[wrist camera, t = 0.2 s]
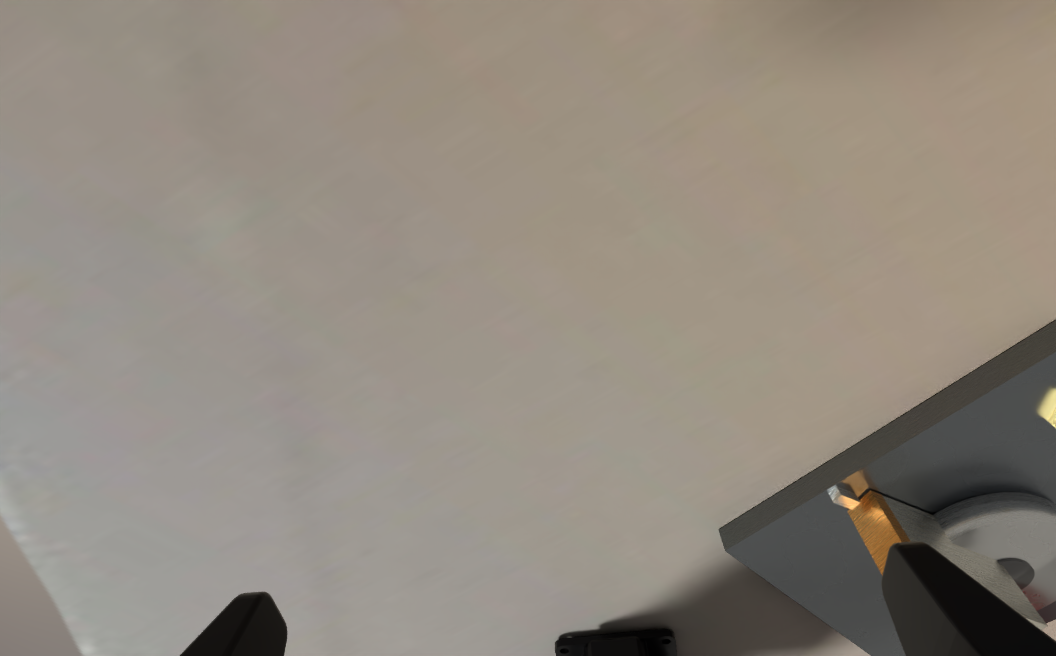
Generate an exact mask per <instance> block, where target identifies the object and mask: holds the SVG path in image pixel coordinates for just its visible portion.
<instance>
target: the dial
mask: <svg viewBox="0 0 1056 656" xmlns="http://www.w3.org/2000/svg"><path fill="white" fill-rule="evenodd" d="M859 501H860V503H859V504H858V505H857V506H856V507H855V508H854V509H853V510H851V509H849V510H848V511H847V512H848V514H849V515H850V517H851V519H852V521H853V523H854V525H855V526H856V528H857V530H858V532H859V534H860V536H861V537H862V539H863V541H864V543H865V545H866V547H867V549H868V550H869V552H870V554H871V556H872V558H873V560H874V561H875V563H876V565H877V567H878V569H879V571H880V572H881V574H882V575H883V571H884V567H885V563H886V559H887V555H888V551H889V548H890V546H892V545H893V544H894V543H900V542H913V541H921V542H924V543H926V544H928V545H930V546H931V547H933V548H934V549H935V550H937V551H938V552H939V553H941V554H942V555H943V556H945V557H946V558H947V559H949V560H950V561H951V562H952V563H954V564H955V565H956V566H958V567H959V568H960V569H962V570H963V571H964V572H966V573H967V574H968V575H970V576H971V577H972V578H973V579H975V580H976V581H977V582H979V583H980V584H981V585H983V586H984V587H985V588H987V589H988V590H989V591H991V592H992V593H993V594H994V595H996V596H997V597H998V598H1000V599H1001V600H1002V601H1004V602H1005V603H1006V604H1008V605H1009V606H1010V607H1012V608H1013V609H1014V610H1015V611H1017V612H1018V613H1019V614H1021V615H1022V616H1023V617H1025V618H1026V619H1027V620H1029V621H1030V622H1031V623H1033V624H1034V625H1035V626H1036V627H1038V628H1039V629H1040V630H1042V629H1044V628H1045V627H1047V626H1048V625H1047V624H1046V623H1045V621H1044V620H1043V619H1042V617H1041V616H1040V615H1039V613H1038V612H1037V610H1039V609H1042V608H1044V607H1046V606H1047V605H1049V604H1051V603H1053V602H1055V601H1056V505H1055V504H1053V503H1052V502H1051V501H1049V500H1047V499H1045V498H1043V497H1040V496H1037V495H1033V494H1028V493H1018V492H1002V493H992V494H987V495H981V496H977V497H973V498H969V499H966V500H963V501H961V502H958V503H955V504H953V505H951V506H948V507H946V508H944V509H942V510H940V511H939V512H937V513H935V514H934V515H931V514H929V513H926V512H924V511H921V510H919V509H916V508H913V507H911V506H908V505H906V504H903V503H900V502H898V501H895V500H893V499H890V498H888V497H885V496H882V495H881V494H879V493H876V492H874V491H871V490H870V491H869V492H868V493H867V494H866V495H864V496H863V497H862V498H861V499H860V500H859Z"/></svg>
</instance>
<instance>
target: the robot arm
mask: <svg viewBox="0 0 1056 656" xmlns="http://www.w3.org/2000/svg"><path fill="white" fill-rule="evenodd" d="M881 586H882V592H883V596H884V599H885V602H886V605H887V607H888V610H889V613H890V615H891V618H892V621H893V623H894V626H895V629H896V631H897V634H898V637H899V639H900V642H901V645H902V647H903V650H904V653H905V655H906V656H1056V641H1055V640H1054V639H1052V638H1051V637H1050V636H1048V635H1047V634H1046V633H1044V632H1043V631H1042V630H1040V629H1039V628H1038V627H1036V626H1035V625H1034V624H1033V623H1031V622H1030V621H1029V620H1027V619H1026V618H1025V617H1023V616H1022V615H1021V614H1019V613H1018V612H1017V611H1015V610H1014V609H1013V608H1012V607H1010V606H1009V605H1008V604H1006V603H1005V602H1004V601H1002V600H1001V599H1000V598H998V597H997V596H996V595H994V594H993V593H992V592H991V591H989V590H988V589H987V588H985V587H984V586H983V585H981V584H980V583H979V582H977V581H976V580H975V579H973V578H972V577H971V576H970V575H968V574H967V573H966V572H964V571H963V570H962V569H960V568H959V567H958V566H956V565H955V564H954V563H952V562H951V561H950V560H949V559H947V558H946V557H945V556H943V555H942V554H941V553H939V552H938V551H937V550H935V549H934V548H933V547H931V546H930V545H928V544H926V543H924V542H921V541H913V542H900V543H894V544H893V545H892V546H890V548H889V551H888V555H887V559H886V563H885V567H884V571H883V575H882V580H881ZM286 642H287V626H286V623H285V620H284V619H283V617H282V615H281V613H280V611H279V610H278V608H277V606H276V604H275V602H274V601H273V599H272V597H271V596H270V594H268V593H266V592H252V593H243V594H240V595H239V596H237V597H236V598H234V599H233V600H232V601H231V602H230V604H229V605H228V606H227V607H226V608H225V609H224V610H223V611H222V612H221V613H220V614H219V615H218V616H217V617H216V618H215V619H214V620H213V621H212V622H211V623H210V624H209V625H208V626H207V628H206V629H205V630H204V631H203V632H202V633H201V634H200V635H199V636H198V637H197V638H196V639H195V640H194V641H193V642H192V643H191V644H190V645H189V646H188V647H187V648H186V649H185V651H184V652H183V653H182V654H181V655H180V656H284V652H285V647H286ZM555 653H556V656H677V650H676V640H675V635H674V632H673V631H672V630H669V629H661V630H650V631H639V632H629V633H618V634H608V635H597V636H586V637H576V638H565V639H559V640H557V641H556V642H555Z"/></svg>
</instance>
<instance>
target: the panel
mask: <svg viewBox="0 0 1056 656" xmlns="http://www.w3.org/2000/svg"><path fill="white" fill-rule="evenodd" d="M870 490H871V491H874V492H876V493H879V494H881V495H882V496H885V497H888V498H890V499H893V500H895V501H898V502H900V503H903V504H906V505H908V506H911V507H913V508H916V509H919V510H921V511H924V512H926V513H929V514H931V515H934V514H935V513H937V512H939V511H940V510H942V509H944V508H946V507H948V506H951V505H953V504H955V503H958V502H961V501H963V500H966V499H969V498H973V497H977V496H981V495H987V494H992V493H1002V492H1018V493H1028V494H1033V495H1037V496H1040V497H1043V498H1045V499H1047V500H1049V501H1051V502H1052V503H1053V504H1055V505H1056V320H1055V321H1054V322H1052V323H1050V324H1049V325H1047V326H1046V327H1044V328H1042V329H1041V330H1039V331H1038V332H1036V333H1034V334H1033V335H1031V336H1029V337H1028V338H1026V339H1025V340H1023V341H1021V342H1020V343H1018V344H1017V345H1015V346H1013V347H1012V348H1010V349H1009V350H1007V351H1005V352H1004V353H1002V354H1001V355H999V356H997V357H996V358H994V359H992V360H991V361H989V362H988V363H986V364H984V365H983V366H981V367H980V368H978V369H976V370H975V371H973V372H972V373H970V374H968V375H967V376H965V377H964V378H962V379H960V380H959V381H957V382H955V383H954V384H952V385H951V386H949V387H947V388H946V389H944V390H943V391H941V392H939V393H938V394H936V395H935V396H933V397H931V398H930V399H928V400H927V401H925V402H923V403H922V404H920V405H918V406H917V407H915V408H914V409H912V410H910V411H909V412H907V413H906V414H904V415H902V416H901V417H899V418H898V419H896V420H894V421H893V422H891V423H890V424H888V425H886V426H885V427H883V428H881V429H880V430H878V431H877V432H875V433H873V434H872V435H870V436H869V437H867V438H865V439H864V440H862V441H861V442H859V443H857V444H856V445H854V446H853V447H851V448H849V449H848V450H846V451H845V452H843V453H841V454H840V455H838V456H836V457H835V458H833V459H832V460H830V461H828V462H827V463H825V464H824V465H822V466H820V467H819V468H817V469H816V470H814V471H812V472H811V473H809V474H808V475H806V476H804V477H803V478H801V479H799V480H798V481H796V482H795V483H793V484H791V485H790V486H788V487H787V488H785V489H783V490H782V491H780V492H779V493H777V494H775V495H774V496H772V497H771V498H769V499H767V500H766V501H764V502H762V503H761V504H759V505H758V506H756V507H754V508H753V509H751V510H750V511H748V512H746V513H745V514H743V515H742V516H740V517H738V518H737V519H735V520H734V521H732V522H730V523H729V524H727V525H725V526H724V527H722V528H721V529H719V533H720V536H721V539H722V542H723V546H724V549H725V551H726V552H727V553H729V554H730V555H732V556H733V557H734V558H736V559H737V560H739V561H740V562H741V563H743V564H744V565H745V566H747V567H748V568H750V569H751V570H752V571H754V572H755V573H757V574H758V575H759V576H761V577H762V578H764V579H765V580H766V581H768V582H769V583H771V584H772V585H773V586H775V587H776V588H778V589H779V590H780V591H782V592H783V593H785V594H786V595H787V596H789V597H790V598H791V599H793V600H794V601H796V602H797V603H798V604H800V605H801V606H803V607H804V608H805V609H807V610H808V611H810V612H811V613H812V614H814V615H815V616H817V617H818V618H819V619H821V620H822V621H824V622H825V623H826V624H828V625H829V626H831V627H832V628H833V629H835V630H836V631H837V632H839V633H840V634H842V635H843V636H844V637H846V638H847V639H849V640H850V641H851V642H853V643H854V644H856V645H857V646H858V647H860V648H861V649H863V650H864V651H865V652H867V653H868V654H870V655H871V656H906V655H905V653H904V650H903V647H902V645H901V642H900V639H899V637H898V634H897V631H896V629H895V626H894V623H893V621H892V618H891V615H890V613H889V610H888V607H887V605H886V602H885V599H884V596H883V592H882V586H881V580H882V574H881V572H880V571H879V569H878V567H877V565H876V563H875V561H874V560H873V558H872V556H871V554H870V552H869V550H868V549H867V547H866V545H865V543H864V541H863V539H862V537H861V536H860V534H859V532H858V530H857V528H856V526H855V525H854V523H853V521H852V519H851V517H850V515H849V514H848V512H847V511H848V510H849V509H851V510H853V509H854V508H855V507H856V506H857V505H858V504H859V503H860V501H859V500H860V499H861V498H862V497H863V496H864V495H866V494H867V493H868V492H869V491H870ZM1037 612H1038V613H1039V615H1040V616H1041V617H1042V619H1043V620H1044V621H1045V623H1048V622H1050V621H1053V620H1055V619H1056V601H1055V602H1053V603H1051V604H1049V605H1047V606H1046V607H1044V608H1042V609H1039V610H1037Z"/></svg>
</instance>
